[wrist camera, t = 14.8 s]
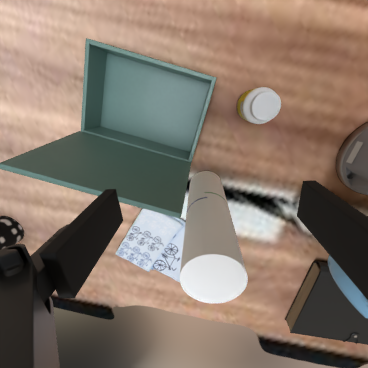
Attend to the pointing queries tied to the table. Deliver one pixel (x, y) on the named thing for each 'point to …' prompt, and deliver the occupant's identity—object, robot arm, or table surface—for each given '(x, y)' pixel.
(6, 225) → the spotted tube
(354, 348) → the table surface
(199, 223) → the cylindrical container
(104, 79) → the chest
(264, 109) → the supplement bottle
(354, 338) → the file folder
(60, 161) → the lid
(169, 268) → the folded bicycle print towel
